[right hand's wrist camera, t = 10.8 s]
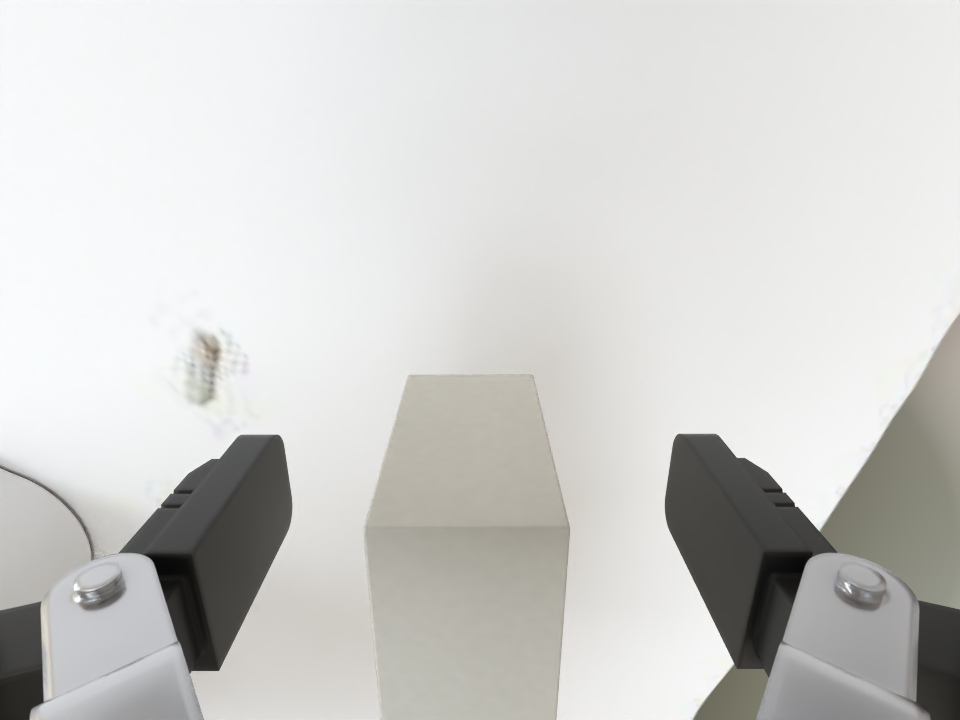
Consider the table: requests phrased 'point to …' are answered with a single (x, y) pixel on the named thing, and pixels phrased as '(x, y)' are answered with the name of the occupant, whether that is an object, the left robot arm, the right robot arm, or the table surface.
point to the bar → (467, 554)
